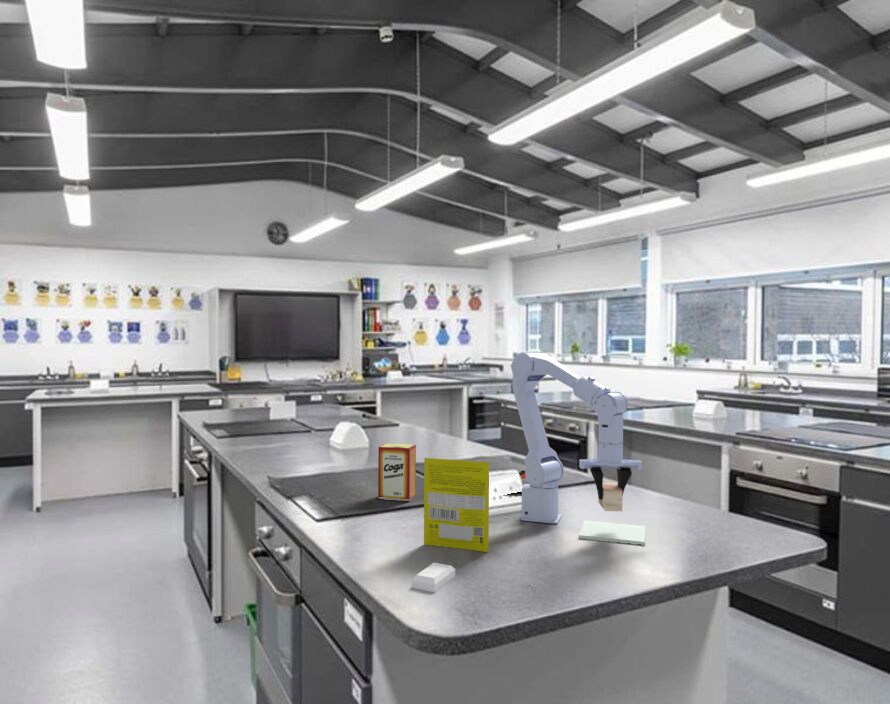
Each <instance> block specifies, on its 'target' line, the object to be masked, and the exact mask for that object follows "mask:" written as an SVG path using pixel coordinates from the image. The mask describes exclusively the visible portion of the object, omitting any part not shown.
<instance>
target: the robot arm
mask: <svg viewBox="0 0 890 704" xmlns="http://www.w3.org/2000/svg"><path fill="white" fill-rule="evenodd" d="M510 368H511V369H510V370H511V371H512V385H511V386H512V392H513V396H514V399H515V400H514V401H515V404H516V407H517V411H518V415H519V417H520V421H521V427H522V430H523V434H524V438H525V440H526V441H525V442H526V445H527V448H528V453H527V455H526V456H525V458H524V465H525V469H524V470H525V476H526V479H527V481H528V482H529V483H530V484H524V485H523V488H522V491H521V516H520V517H521V518H520V521H525V522H535V523H543V524H544V523H545V524H556V525H557V524H558V523H559V522H560V520H561V518H562V514H561V513H559V485H560V481H561V479H563V477H564V474H565V468H564V465H563V463H562V461H561V460H560V459H559V457H558V454H557V452H556V451H555V450H554V449H553V448H552V447H550V444H549V440H548V437H547V434H546V433H547V432H546V429H545V426H544V423H543V418H542V414H541V410H540V407H539V404H538V400H537V396H536V392H535V389H536V387H537V386H538V384H539V383H540V382H541V381H542V380H543V379H544V378H545V377H546V376H547V375H548V376H550V377H552V378H553V379H555V380H557V381H559V382H561V383H562V384H564V385H566V386H567V387H569V388H571V389H572V392H573V395H574V396H575V397H577V398H578V399H580V400H581V401H582V402H584V403H586V404H587V405H589V406H590V407H592V408H593V409H594V411H595V414H596V415H597V422H598V442H597V444H598V446H597V447H598V449H597V450H598V451H597V452H598V454H597V455H598V457H597V458H588V459H587V458H585V459H579V468H580V469H581V470H585V469H589V471H590V473H591V475H592V478H593V481H594V484H595V486H596V490H597V491H596V492H597V497H598V498H599V499H603V482H604V473H603V472H604V471H603V470H604V469H605V470H606V469H608V470H610V469H611V470H612V469H613V470H616V472H617V474H616V475H617V485H618V486H619V487H620V488H621V489H622V498H623V495H624V492H625V489H626V486H627V484H628V482H629V480H630V479H631V477H632V471H631V470H637V471H640V470H643V469H642V468H643V466H642V465H643V462H642V461H641V460H639V459H638V460H636V459H624V450H623V449H624V414H625V413H626V412H627V410H628V399H627V398H626V396H625V395H624V394H623V393H622V392H620V391H611V388H610V387H609V386H604V385H602V384H600V383H599V382H597V381H596V378H595V377H593V376H587V375H585V376H582V377H580V376H579V375H578V374H577V373H575V372H573V371H572V370H570V369H568V368H567V367H566V366H565V365H564V364H562V363H560V362H559V361H558V360H556V359H555V358H554V356H552V355H548V354H547V353H545V352H529V353H527V352H520V353H517V355H516V356H515V357H514V359H513V360H512V362H511V364H510Z"/></svg>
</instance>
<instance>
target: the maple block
mask: <svg viewBox="0 0 890 704" xmlns="http://www.w3.org/2000/svg"><path fill="white" fill-rule="evenodd" d="M597 500H598V501H597V502H598V504H599V505H600V506H601V507H602V509H603V510H604V512H623V497H622V489H621V488H620V487H619V486H618V483H616V482H615V481H614V482H611V481H610V482H609V481H607V482H606V481H605V482H604V481H603V499H599V498H598V499H597Z"/></svg>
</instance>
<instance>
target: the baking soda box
mask: <svg viewBox="0 0 890 704" xmlns="http://www.w3.org/2000/svg"><path fill="white" fill-rule="evenodd" d="M416 450H417V444H409V443H384V444H381V445H380V446H378V462H377V463H378V464H377V466H378V474H377V475H378V477H377V478H378V481H377V483H378V484H377V485H378V486H377V488H378V493H377V496H378V497H387V498H400V499H410V498H411V497H412V496H414V495H415V494H416V492H417V491H416V485H417V484H416V482H417V481H416V479H417V478H416V477H417V476H416V475H417V474H416V473H417V471H416V468H417V466H416V465H417V462H416V461H417V454H416V453H417V451H416ZM378 497H377V498H378Z"/></svg>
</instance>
